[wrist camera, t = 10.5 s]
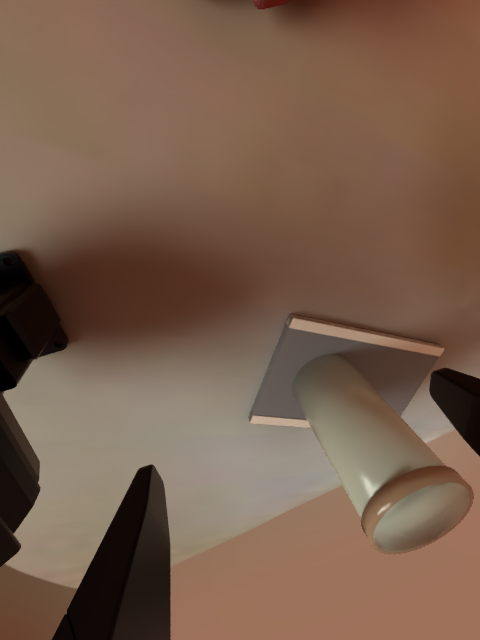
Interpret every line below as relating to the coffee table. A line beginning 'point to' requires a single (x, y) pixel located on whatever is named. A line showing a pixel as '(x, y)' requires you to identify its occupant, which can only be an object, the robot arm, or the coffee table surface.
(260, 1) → the toy fire truck
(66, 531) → the coffee table surface
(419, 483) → the canister
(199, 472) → the coffee table surface
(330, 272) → the coffee table surface
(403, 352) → the mat
